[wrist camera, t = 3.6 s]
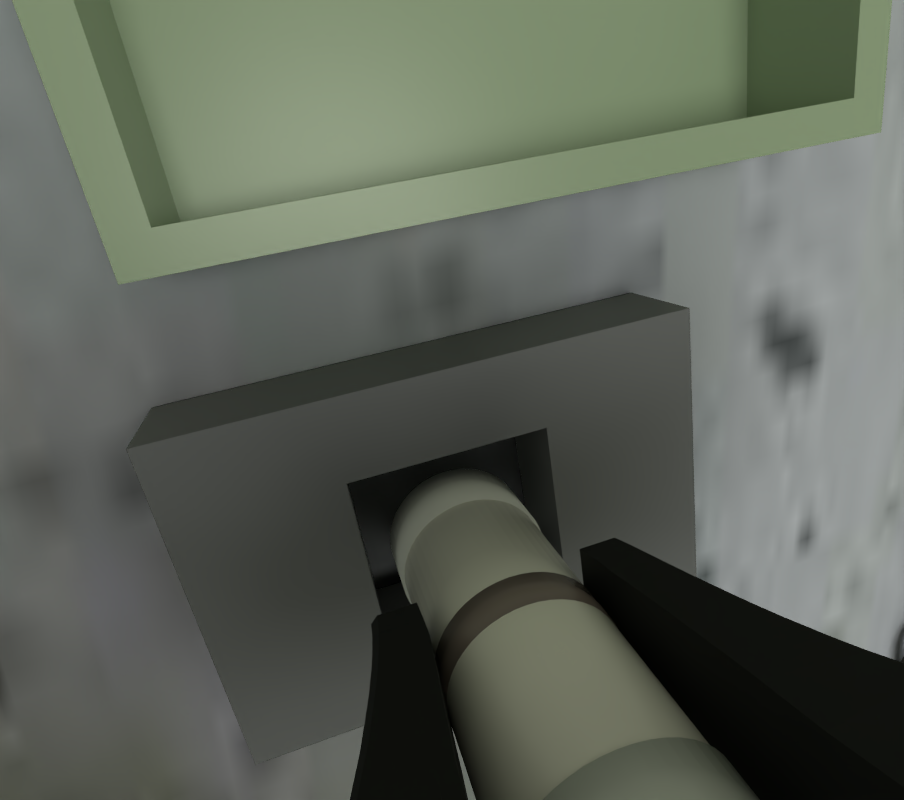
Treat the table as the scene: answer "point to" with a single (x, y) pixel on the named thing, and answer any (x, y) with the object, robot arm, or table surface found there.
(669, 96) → the parts tray
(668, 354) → the fuse block
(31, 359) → the table surface
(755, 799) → the cylinder
